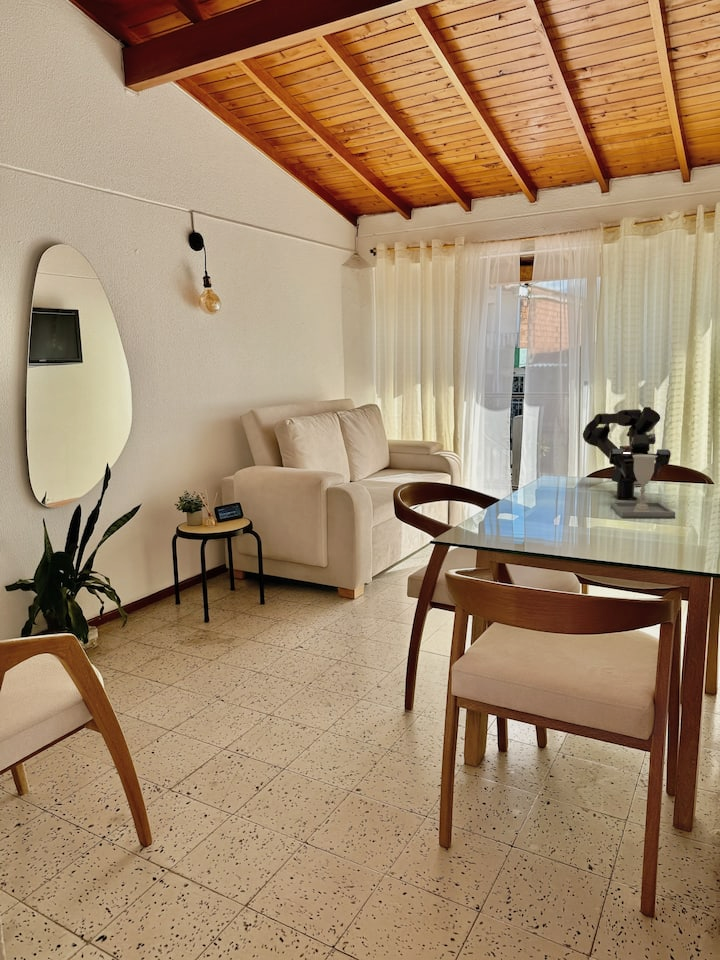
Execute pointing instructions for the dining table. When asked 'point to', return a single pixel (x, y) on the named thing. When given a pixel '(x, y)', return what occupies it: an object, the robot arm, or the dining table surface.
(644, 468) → the chalice
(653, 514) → the tray
